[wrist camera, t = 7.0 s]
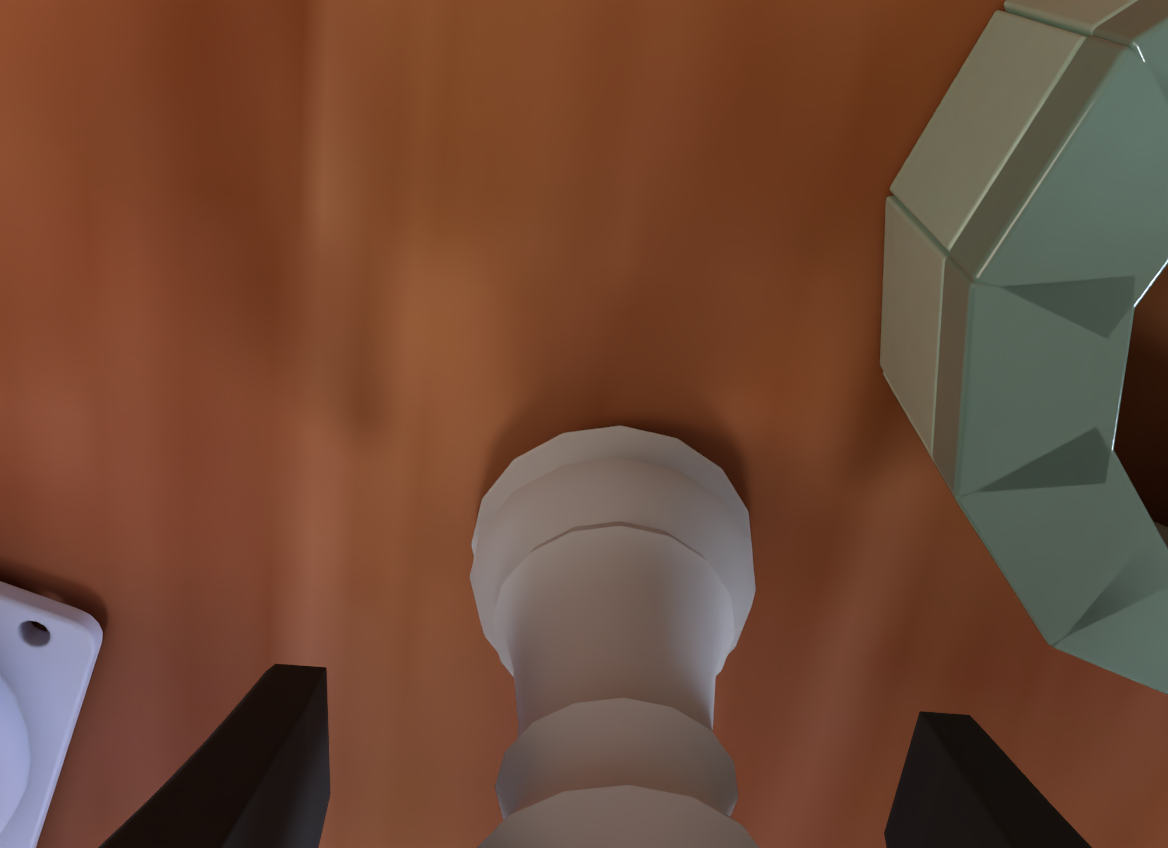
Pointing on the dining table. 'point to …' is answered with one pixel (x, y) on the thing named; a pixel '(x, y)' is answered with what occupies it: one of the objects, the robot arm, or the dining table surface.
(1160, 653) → the ring
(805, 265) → the dining table surface
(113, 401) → the dining table surface
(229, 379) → the dining table surface
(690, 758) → the rook chess piece
